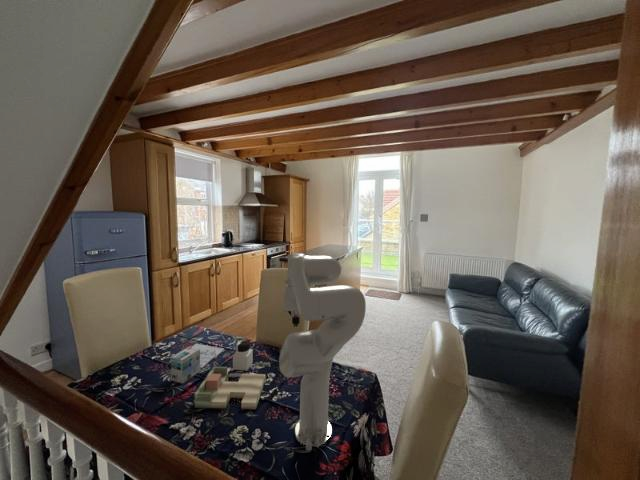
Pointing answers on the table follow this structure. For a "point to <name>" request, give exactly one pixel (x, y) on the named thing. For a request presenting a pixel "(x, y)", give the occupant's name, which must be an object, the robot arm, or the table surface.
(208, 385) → the block
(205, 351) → the white patterned board
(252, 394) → the trap deck
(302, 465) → the table surface
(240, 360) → the medicine bottle
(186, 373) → the light bulb box
